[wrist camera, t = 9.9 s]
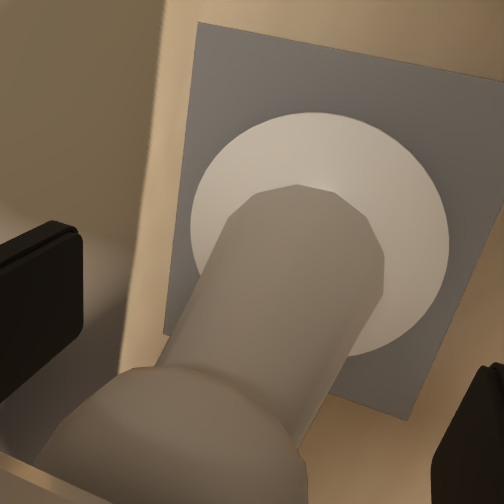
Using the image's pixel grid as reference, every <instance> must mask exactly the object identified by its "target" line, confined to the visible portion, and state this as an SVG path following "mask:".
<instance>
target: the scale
mask: <svg viewBox="0 0 504 504" xmlns="http://www.w3.org/2000/svg"><path fill="white" fill-rule="evenodd" d="M295 184H299V185H303V186H308V187H312V188H317V189H321V190H326V191H330V192H335V193H336V194H337V195H339V196H340V197H341V198H342V199H344V200H345V201H346V202H348V203H349V204H350V205H351V206H353V207H354V208H355V209H357V210H358V211H359V212H360V213H362V214H363V215H364V216H366V217H367V219H368V221H369V223H370V225H371V228H372V230H373V232H374V234H375V236H376V238H377V240H378V242H379V244H380V246H381V248H382V250H383V253H384V257H385V261H384V286H383V296H382V297H381V299H380V301H379V302H378V304H377V306H376V307H375V309H374V311H373V312H372V314H371V316H370V318H369V319H368V321H367V323H366V324H365V326H364V328H363V329H362V331H361V333H360V334H359V336H358V338H357V340H356V342H355V344H354V345H353V347H352V349H351V351H350V353H349V355H348V357H347V358H346V360H345V362H344V364H343V366H342V368H341V370H340V371H339V373H338V375H337V377H336V379H335V381H334V383H333V384H332V386H331V388H330V390H329V392H328V393H330V394H333V395H336V396H338V397H341V398H344V399H347V400H350V401H352V402H355V403H358V404H361V405H364V406H366V407H369V408H372V409H375V410H378V411H380V412H383V413H386V414H389V415H392V416H394V417H397V418H400V419H403V420H405V421H407V420H408V417H409V415H410V413H411V411H412V408H413V406H414V404H415V402H416V399H417V397H418V395H419V392H420V390H421V388H422V386H423V383H424V381H425V379H426V377H427V374H428V372H429V370H430V368H431V365H432V363H433V361H434V359H435V356H436V354H437V352H438V349H439V347H440V345H441V343H442V340H443V338H444V336H445V334H446V331H447V329H448V327H449V325H450V322H451V320H452V318H453V315H454V313H455V311H456V309H457V306H458V304H459V302H460V300H461V297H462V295H463V293H464V291H465V288H466V286H467V284H468V282H469V279H470V277H471V275H472V272H473V270H474V268H475V266H476V263H477V261H478V259H479V257H480V254H481V252H482V250H483V248H484V245H485V243H486V241H487V238H488V236H489V234H490V232H491V229H492V227H493V225H494V223H495V220H496V218H497V216H498V214H499V211H500V209H501V207H502V204H503V202H504V82H501V81H496V80H491V79H486V78H481V77H476V76H471V75H466V74H461V73H456V72H451V71H445V70H440V69H435V68H430V67H425V66H420V65H415V64H410V63H405V62H400V61H395V60H390V59H385V58H379V57H374V56H369V55H364V54H359V53H354V52H349V51H344V50H339V49H334V48H329V47H324V46H318V45H313V44H308V43H303V42H298V41H293V40H288V39H283V38H278V37H273V36H268V35H263V34H258V33H252V32H247V31H242V30H237V29H232V28H227V27H222V26H217V25H212V24H207V23H201V22H198V25H197V34H196V43H195V52H194V61H193V70H192V79H191V88H190V97H189V106H188V115H187V124H186V133H185V142H184V151H183V160H182V169H181V178H180V187H179V196H178V205H177V214H176V223H175V231H174V240H173V249H172V258H171V267H170V276H169V285H168V294H167V303H166V312H165V321H164V330H163V334H165V335H168V336H170V335H171V333H172V332H173V330H174V328H175V326H176V324H177V322H178V320H179V318H180V316H181V314H182V312H183V310H184V308H185V306H186V304H187V303H188V301H189V299H190V297H191V295H192V293H193V291H194V289H195V286H196V284H197V282H198V280H199V278H200V276H201V274H202V272H203V269H204V267H205V265H206V263H207V261H208V259H209V257H210V255H211V252H212V250H213V248H214V246H215V244H216V242H217V240H218V238H219V236H220V233H221V231H222V229H223V227H224V225H225V223H226V221H227V219H228V217H229V216H230V215H231V214H232V213H234V212H235V211H236V210H237V209H238V208H239V207H240V206H241V205H243V204H244V203H245V202H246V201H247V200H248V199H249V198H250V197H251V196H253V195H254V194H256V193H259V192H263V191H268V190H272V189H277V188H281V187H286V186H291V185H295Z"/></svg>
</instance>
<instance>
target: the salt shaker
mask: <svg viewBox="0 0 504 504" xmlns="http://www.w3.org/2000/svg"><path fill="white" fill-rule="evenodd" d="M384 261H385V257H384V253H383V250H382V248H381V246H380V244H379V242H378V240H377V238H376V236H375V234H374V232H373V230H372V228H371V225H370V223H369V221H368V219H367V217H366V216H364V215H363V214H362V213H360V212H359V211H358V210H357V209H355V208H354V207H353V206H351V205H350V204H349V203H348V202H346V201H345V200H344V199H342V198H341V197H340V196H339V195H337V194H336V193H335V192H330V191H326V190H321V189H317V188H312V187H308V186H303V185H299V184H295V185H291V186H286V187H281V188H277V189H272V190H268V191H263V192H259V193H256V194H254V195H253V196H251V197H250V198H249V199H248V200H247V201H246V202H245V203H244V204H243V205H241V206H240V207H239V208H238V209H237V210H236V211H235V212H234V213H232V214H231V215H230V216H229V217H228V219H227V221H226V223H225V225H224V227H223V229H222V231H221V233H220V236H219V238H218V240H217V242H216V244H215V246H214V248H213V250H212V252H211V255H210V257H209V259H208V261H207V263H206V265H205V267H204V269H203V272H202V274H201V276H200V278H199V280H198V282H197V284H196V286H195V289H194V291H193V293H192V295H191V297H190V299H189V301H188V303H187V304H186V306H185V308H184V310H183V312H182V314H181V316H180V318H179V320H178V322H177V324H176V326H175V328H174V330H173V332H172V333H171V335H170V337H169V339H168V341H167V343H166V345H165V347H164V349H163V351H162V353H161V355H160V357H159V359H158V360H157V362H156V364H155V366H154V367H140V368H132V369H130V370H128V371H126V372H123V373H121V374H119V375H117V376H116V377H115V378H114V379H112V380H111V381H110V382H108V383H107V384H106V385H105V386H103V387H102V388H101V389H99V390H98V391H97V392H96V393H94V394H93V395H92V396H90V397H89V398H88V399H87V400H85V401H84V402H83V403H82V404H81V405H80V406H79V407H78V408H77V409H76V410H75V411H73V412H72V413H71V414H70V415H69V416H68V417H67V418H66V419H65V420H63V421H62V422H61V423H60V425H59V426H58V427H57V429H56V430H55V432H54V433H53V435H52V436H51V438H50V439H49V441H48V442H47V444H46V445H45V447H44V448H43V450H42V451H41V453H40V454H39V456H38V457H37V459H36V460H35V465H34V468H37V469H39V470H41V471H43V472H45V473H48V474H50V475H52V476H54V477H56V478H58V479H61V480H63V481H65V482H67V483H69V484H71V485H74V486H76V487H78V488H80V489H82V490H85V491H87V492H89V493H91V494H93V495H95V496H98V497H100V498H102V499H104V500H106V501H108V502H111V503H113V504H308V478H307V471H306V463H305V462H304V460H303V459H302V457H301V455H300V454H299V452H298V448H299V446H300V444H301V442H302V440H303V438H304V437H305V435H306V433H307V431H308V429H309V427H310V425H311V424H312V422H313V420H314V418H315V416H316V414H317V412H318V411H319V409H320V407H321V405H322V403H323V401H324V399H325V397H326V396H327V394H328V392H329V390H330V388H331V386H332V384H333V383H334V381H335V379H336V377H337V375H338V373H339V371H340V370H341V368H342V366H343V364H344V362H345V360H346V358H347V357H348V355H349V353H350V351H351V349H352V347H353V345H354V344H355V342H356V340H357V338H358V336H359V334H360V333H361V331H362V329H363V328H364V326H365V324H366V323H367V321H368V319H369V318H370V316H371V314H372V312H373V311H374V309H375V307H376V306H377V304H378V302H379V301H380V299H381V297H382V296H383V286H384Z"/></svg>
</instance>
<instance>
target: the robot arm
mask: <svg viewBox="0 0 504 504" xmlns="http://www.w3.org/2000/svg"><path fill="white" fill-rule="evenodd" d="M82 328H83V240H82V237H81V236H80V235H79V234H78V231H77V229H76V228H75V227H73V226H70V225H67V224H63V223H61V222H58V221H53V220H52V221H48V222H46V223H44V224H42V225H40V226H38V227H36V228H34V229H32V230H30V231H28V232H26V233H23V234H21V235H19V236H17V237H15V238H13V239H11V240H9V241H7V242H5V243H3V244H1V245H0V403H1V402H2V401H4V400H5V399H6V398H7V397H8V396H10V395H11V394H12V393H13V392H14V391H15V390H16V389H18V388H19V387H20V386H21V385H22V384H23V383H24V382H26V381H27V380H28V379H29V378H30V377H32V376H33V375H34V374H35V373H36V372H37V371H38V370H40V369H41V368H42V367H43V366H44V365H45V364H47V363H48V362H49V361H50V360H51V359H52V358H53V357H55V356H56V355H57V354H58V353H59V352H61V351H62V350H63V349H64V348H65V347H66V346H67V345H69V344H70V343H71V342H72V341H73V340H74V339H76V338H77V337H78V335H79V334H80V332H81V330H82ZM431 501H432V504H504V365H503V364H500V363H497V362H495V363H493V364H492V365H491V366H490V367H486V366H481V367H480V368H479V369H478V371H477V373H476V375H475V377H474V379H473V381H472V383H471V384H470V386H469V388H468V390H467V392H466V394H465V396H464V398H463V400H462V402H461V404H460V406H459V408H458V409H457V411H456V413H455V415H454V417H453V419H452V421H451V423H450V425H449V427H448V429H447V431H446V432H445V434H444V436H443V438H442V440H441V442H440V444H439V446H438V448H437V450H436V452H435V454H434V456H433V459H432V464H431ZM0 504H113V503H111V502H108V501H106V500H104V499H102V498H100V497H98V496H95V495H93V494H91V493H89V492H87V491H85V490H82V489H80V488H78V487H76V486H74V485H71V484H69V483H67V482H65V481H63V480H61V479H58V478H56V477H54V476H52V475H50V474H48V473H45V472H43V471H41V470H39V469H37V468H34V467H32V466H30V465H28V464H26V463H24V462H21V461H19V460H17V459H15V458H12V457H10V456H8V455H6V454H4V453H1V452H0Z"/></svg>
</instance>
